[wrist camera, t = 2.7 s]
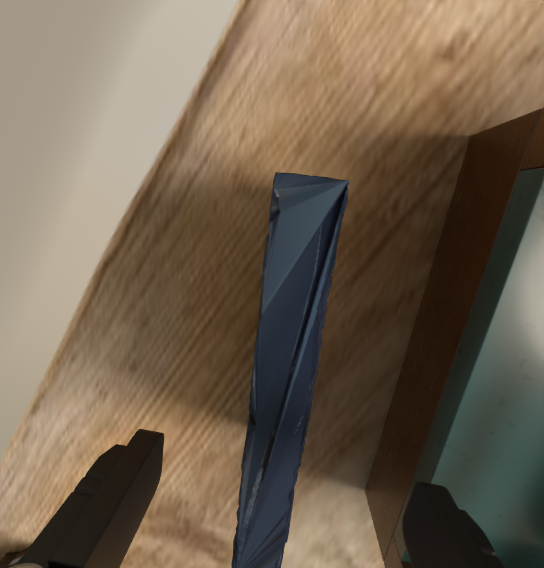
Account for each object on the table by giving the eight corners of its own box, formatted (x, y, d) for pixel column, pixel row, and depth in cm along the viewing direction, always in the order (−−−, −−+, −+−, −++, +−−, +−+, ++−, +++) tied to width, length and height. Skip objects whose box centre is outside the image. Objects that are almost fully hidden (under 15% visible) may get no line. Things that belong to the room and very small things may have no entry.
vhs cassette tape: (283, 433, 23) (278, 593, 14) (246, 427, 23) (215, 582, 14) (327, 192, 18) (368, 178, 9) (280, 185, 19) (270, 163, 9)
